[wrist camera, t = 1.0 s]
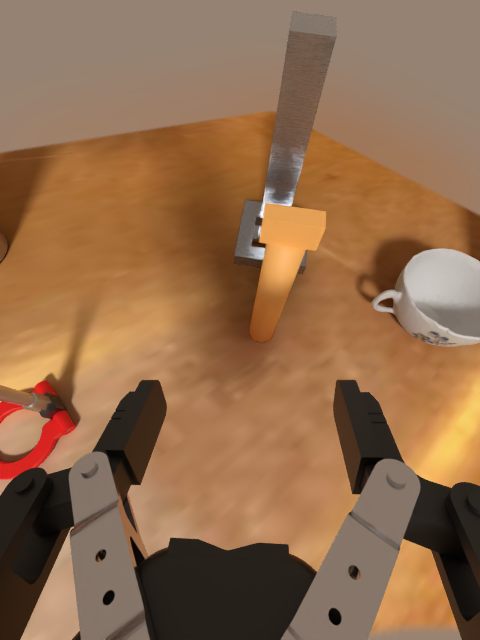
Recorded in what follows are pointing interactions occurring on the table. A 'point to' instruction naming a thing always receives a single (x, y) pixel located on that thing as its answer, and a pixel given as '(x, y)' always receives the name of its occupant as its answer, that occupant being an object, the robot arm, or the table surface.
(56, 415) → the red handwheel with stem
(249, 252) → the scaffold post with crossbars
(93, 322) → the table surface
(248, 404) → the table surface
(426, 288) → the teacup
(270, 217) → the wedge pin
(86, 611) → the robot arm
